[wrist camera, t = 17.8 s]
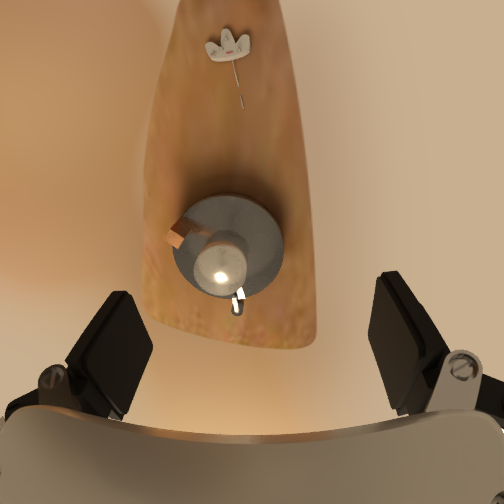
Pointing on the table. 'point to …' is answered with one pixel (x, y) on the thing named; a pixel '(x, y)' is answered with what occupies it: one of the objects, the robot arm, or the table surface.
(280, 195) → the table surface
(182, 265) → the turntable
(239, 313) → the dial pointer
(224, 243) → the cover
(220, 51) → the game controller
